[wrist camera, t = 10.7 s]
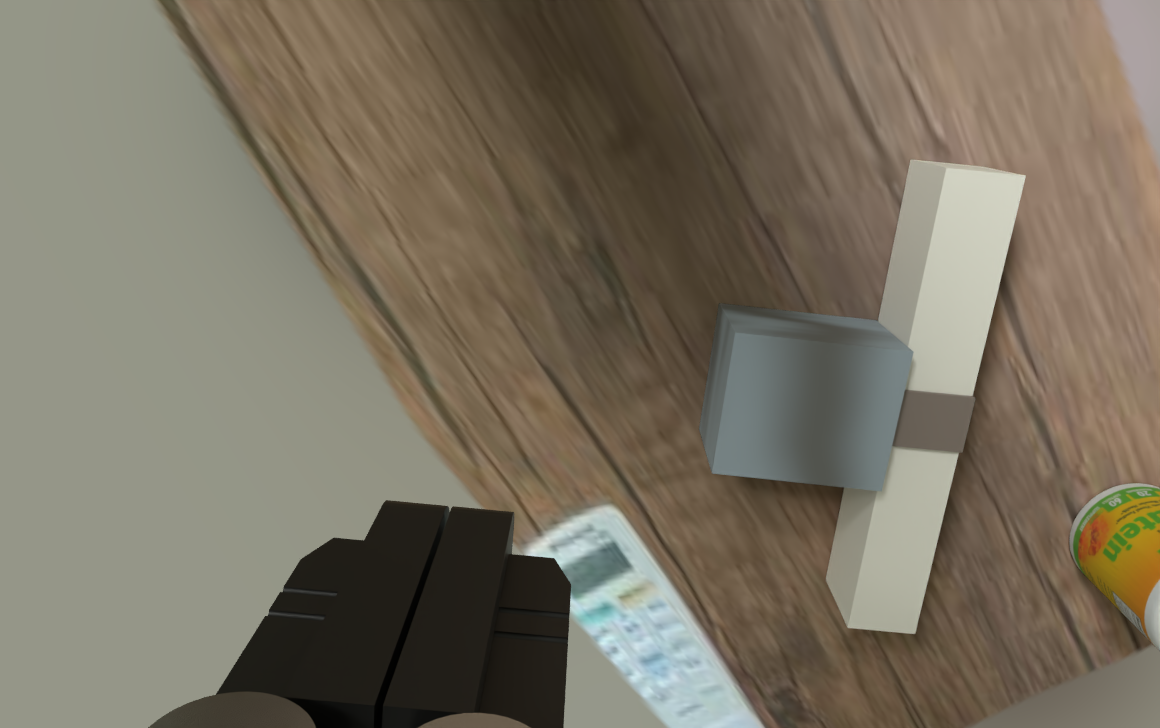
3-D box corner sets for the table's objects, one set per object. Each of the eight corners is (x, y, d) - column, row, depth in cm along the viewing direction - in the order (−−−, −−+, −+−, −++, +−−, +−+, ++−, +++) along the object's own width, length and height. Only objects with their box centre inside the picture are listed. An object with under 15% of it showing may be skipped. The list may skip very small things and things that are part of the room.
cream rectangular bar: (824, 579, 43) (847, 630, 39) (909, 159, 37) (946, 168, 33) (888, 585, 43) (917, 636, 39) (983, 166, 37) (1029, 176, 33)
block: (698, 428, 41) (711, 473, 36) (718, 302, 39) (735, 332, 35) (848, 444, 41) (881, 491, 36) (875, 319, 39) (913, 351, 35)
